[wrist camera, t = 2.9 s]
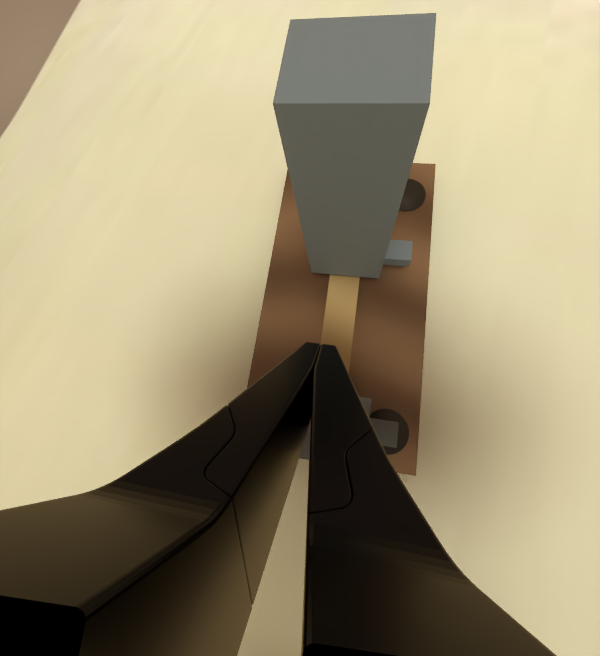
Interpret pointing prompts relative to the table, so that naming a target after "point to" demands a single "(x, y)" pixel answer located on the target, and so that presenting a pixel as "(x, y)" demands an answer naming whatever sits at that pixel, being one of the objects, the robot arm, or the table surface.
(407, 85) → the block
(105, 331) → the table surface
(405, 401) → the hole plate
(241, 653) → the table surface
